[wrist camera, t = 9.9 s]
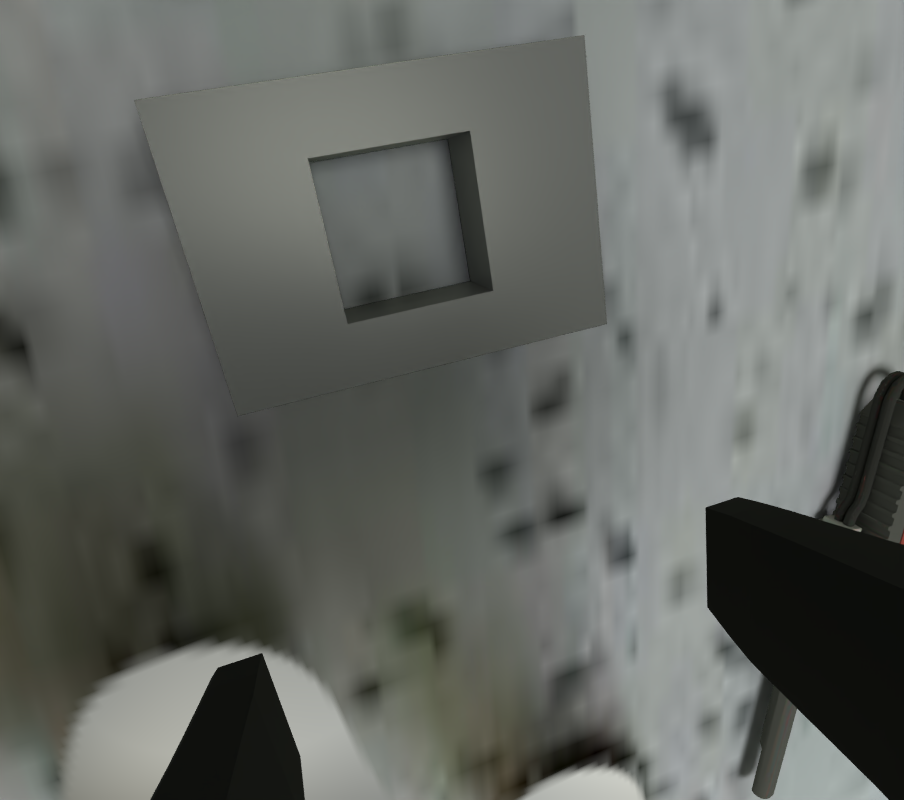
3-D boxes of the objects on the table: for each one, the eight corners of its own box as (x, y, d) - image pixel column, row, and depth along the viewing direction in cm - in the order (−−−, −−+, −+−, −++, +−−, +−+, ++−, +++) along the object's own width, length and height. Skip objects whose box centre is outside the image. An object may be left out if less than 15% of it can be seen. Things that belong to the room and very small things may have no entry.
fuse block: (242, 391, 16) (237, 416, 14) (153, 112, 14) (134, 99, 12) (573, 311, 18) (606, 323, 16) (548, 54, 16) (584, 35, 14)
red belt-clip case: (816, 365, 22) (719, 773, 28) (936, 401, 18) (793, 868, 24) (987, 358, 24) (863, 737, 31) (1128, 390, 20) (952, 818, 26)
